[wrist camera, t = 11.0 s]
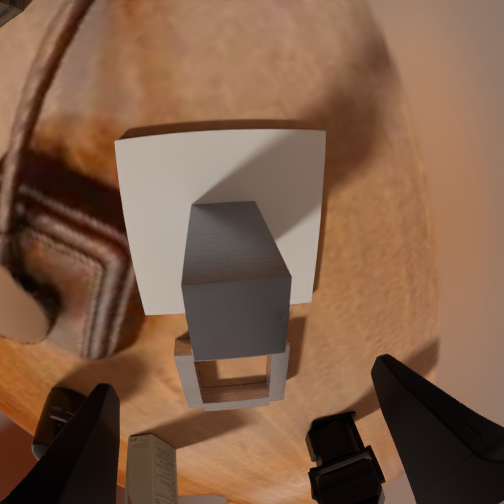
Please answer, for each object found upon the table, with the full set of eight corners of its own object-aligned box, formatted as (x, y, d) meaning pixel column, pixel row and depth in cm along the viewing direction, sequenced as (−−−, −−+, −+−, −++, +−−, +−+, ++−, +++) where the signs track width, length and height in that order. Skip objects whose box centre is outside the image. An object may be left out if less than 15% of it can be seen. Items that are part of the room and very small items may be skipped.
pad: (321, 130, 18) (326, 131, 17) (308, 296, 24) (311, 302, 23) (118, 139, 16) (114, 140, 16) (146, 308, 22) (145, 315, 22)
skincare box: (127, 435, 32) (121, 514, 21) (152, 432, 31) (150, 515, 21) (153, 453, 35) (153, 524, 24) (178, 450, 34) (181, 524, 24)
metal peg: (255, 200, 19) (292, 277, 11) (254, 256, 21) (285, 352, 13) (191, 204, 18) (180, 285, 10) (196, 260, 20) (194, 360, 12)
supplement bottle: (76, 383, 26) (53, 477, 15) (109, 416, 29) (98, 501, 19) (38, 387, 26) (13, 468, 15) (70, 418, 29) (55, 494, 18)
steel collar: (285, 324, 25) (290, 339, 23) (279, 388, 29) (282, 403, 28) (173, 333, 24) (172, 350, 22) (189, 396, 28) (190, 411, 26)
